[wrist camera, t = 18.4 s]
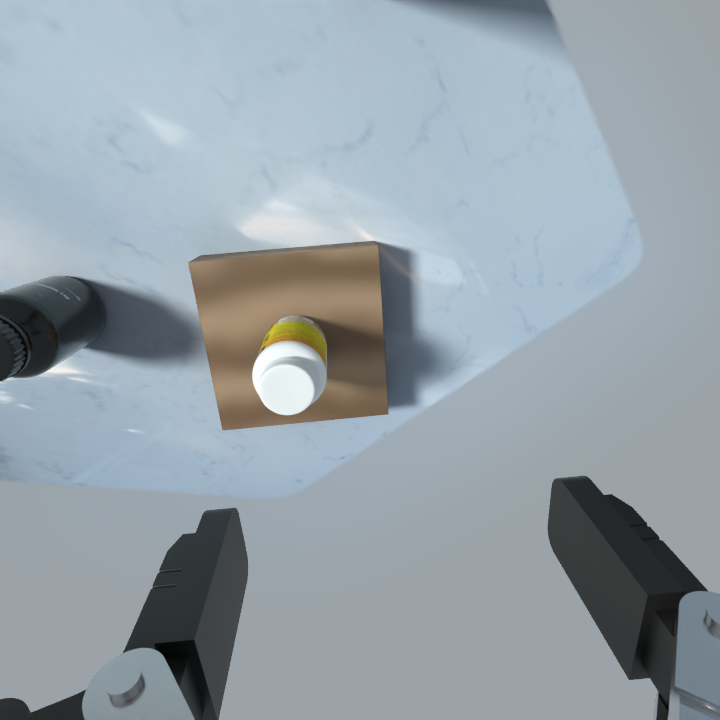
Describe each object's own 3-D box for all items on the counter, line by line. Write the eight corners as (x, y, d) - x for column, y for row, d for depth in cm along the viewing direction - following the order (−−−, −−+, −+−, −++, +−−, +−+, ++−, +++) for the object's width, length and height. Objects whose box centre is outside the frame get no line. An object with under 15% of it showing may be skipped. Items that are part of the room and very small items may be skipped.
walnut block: (200, 255, 43) (188, 262, 39) (374, 240, 43) (378, 246, 40) (230, 411, 48) (222, 430, 45) (383, 396, 49) (388, 414, 45)
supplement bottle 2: (265, 311, 41) (246, 350, 31) (329, 316, 41) (329, 355, 32) (264, 370, 43) (246, 423, 33) (324, 374, 43) (324, 427, 34)
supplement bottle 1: (91, 267, 42) (7, 297, 31) (118, 337, 45) (48, 388, 34) (17, 281, 42) (-94, 316, 31) (48, 350, 45) (-45, 406, 34)
